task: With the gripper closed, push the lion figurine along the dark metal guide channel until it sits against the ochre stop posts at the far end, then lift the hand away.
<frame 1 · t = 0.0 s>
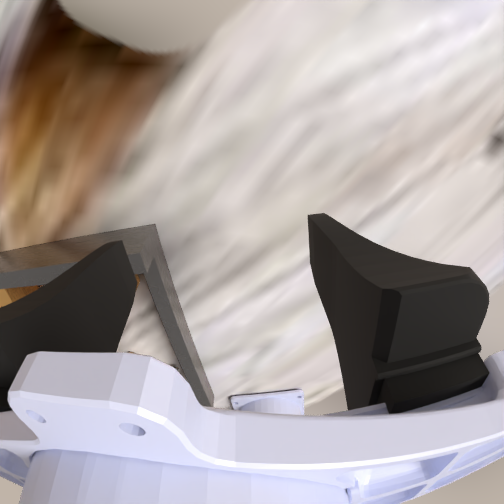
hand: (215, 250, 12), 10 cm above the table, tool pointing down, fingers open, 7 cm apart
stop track: (92, 335, 29), on the table
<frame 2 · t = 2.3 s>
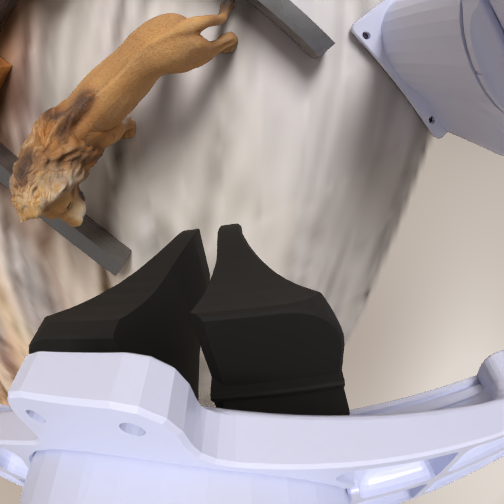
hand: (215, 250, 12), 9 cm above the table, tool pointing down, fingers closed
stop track: (88, 62, 16), on the table
lion figurine: (148, 92, 18), on the table
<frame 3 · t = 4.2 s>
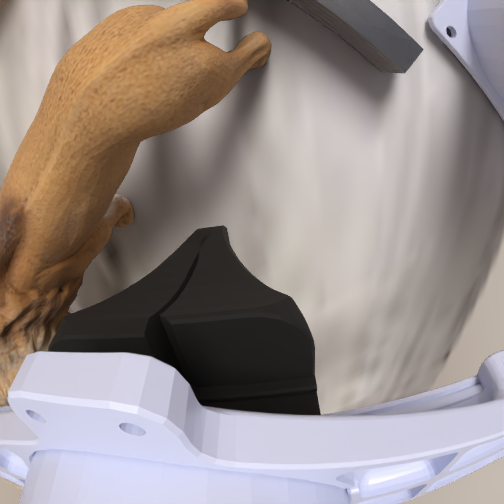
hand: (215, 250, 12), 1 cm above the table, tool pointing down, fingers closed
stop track: (37, 125, 11), on the table
lion figurine: (139, 151, 12), on the table, touching gripper
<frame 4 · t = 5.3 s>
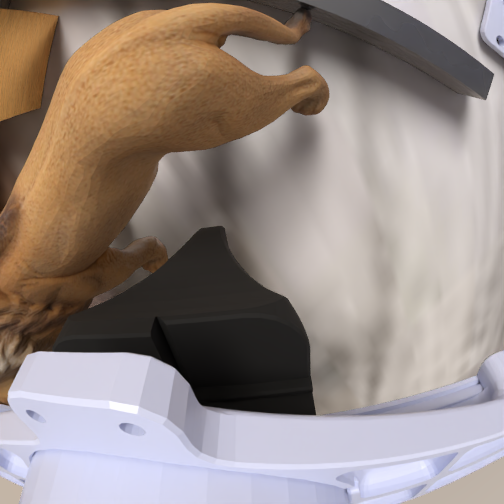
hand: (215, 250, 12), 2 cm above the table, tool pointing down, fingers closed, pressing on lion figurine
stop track: (150, 211, 13), on the table
lion figurine: (184, 195, 12), point 1 cm above the table, touching gripper, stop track
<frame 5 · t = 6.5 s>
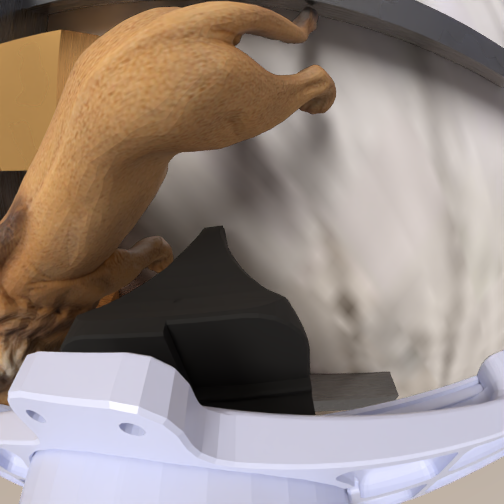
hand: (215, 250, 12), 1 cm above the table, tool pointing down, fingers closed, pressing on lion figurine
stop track: (246, 232, 13), on the table
lion figurine: (189, 194, 12), point 1 cm above the table, touching gripper, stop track
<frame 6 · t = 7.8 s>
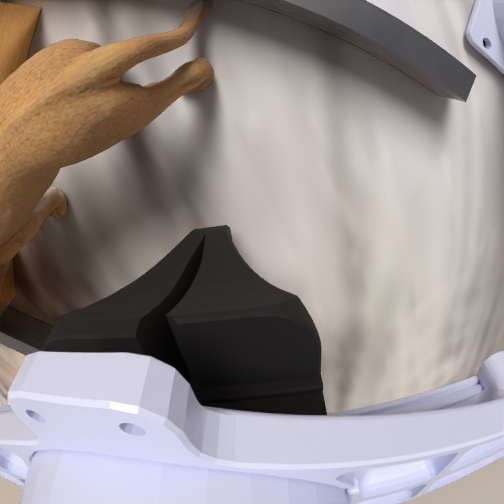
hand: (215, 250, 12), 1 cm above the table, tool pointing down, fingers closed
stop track: (116, 203, 13), on the table
lion figurine: (80, 151, 12), on the table
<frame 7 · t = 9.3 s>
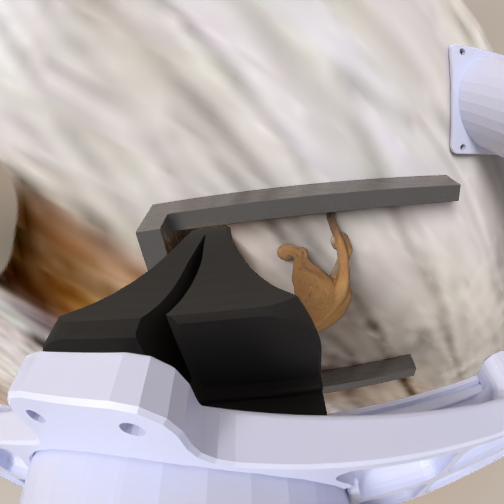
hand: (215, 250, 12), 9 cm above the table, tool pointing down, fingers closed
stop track: (313, 305, 26), on the table
lion figurine: (288, 288, 25), on the table
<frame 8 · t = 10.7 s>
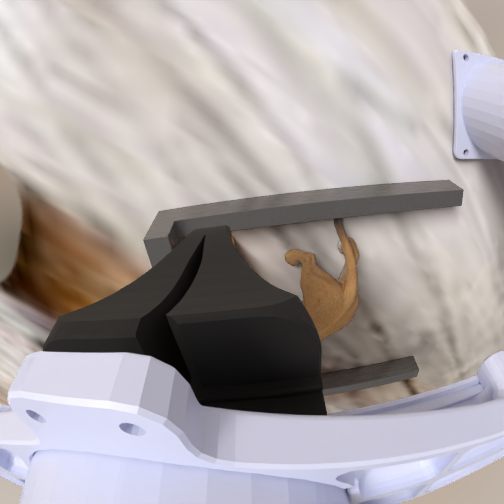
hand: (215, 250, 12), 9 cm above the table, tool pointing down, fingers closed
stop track: (318, 308, 26), on the table
lion figurine: (295, 292, 25), on the table
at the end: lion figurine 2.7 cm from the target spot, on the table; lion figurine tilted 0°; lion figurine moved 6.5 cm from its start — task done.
